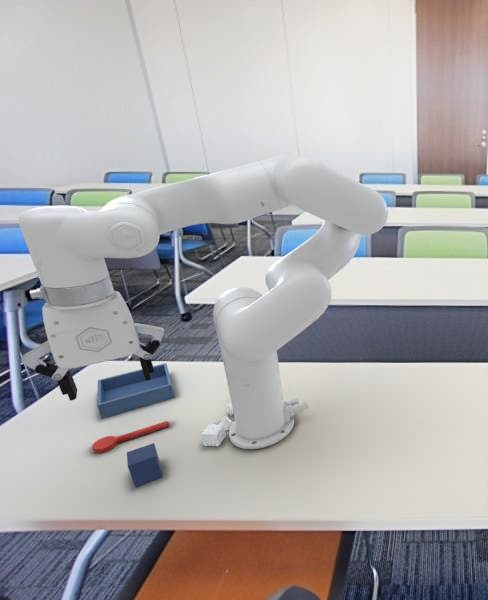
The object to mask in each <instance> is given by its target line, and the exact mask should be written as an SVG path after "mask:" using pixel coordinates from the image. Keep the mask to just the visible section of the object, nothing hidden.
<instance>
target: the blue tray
mask: <svg viewBox="0 0 488 600" xmlns="http://www.w3.org/2000/svg"><path fill="white" fill-rule="evenodd" d="M153 368H154V372H153V373H150V377H151V380H149V381H147V380H145V377H144V374H143V370H142V368H141V369H137V370H133V371H129V372H125V373H121V374H118V375H113V376H109V377H105V378H101V379H98V380H97V394H96V395H97V396H96V399H97V400H96V406H97V408H98V409H97V410H98V412H99V415H100V417H101V419H105V418H109V417H112V416H116V415H119V414H122V413H125V412H129V411H133V410H136V409H140V408H142V407H146V406H149V405H152V404H156V403H159V402H163V401H166V400H170V399H173V398H176V396H175V391H174V388H173V383H172V379H171V375H170V371H169V368H168V364H167V362H165V363H161V364H157V365H153Z"/></svg>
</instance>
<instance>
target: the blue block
mask: <svg viewBox="0 0 488 600" xmlns="http://www.w3.org/2000/svg"><path fill="white" fill-rule="evenodd" d="M126 461H127V468H128V472H129V474H130V477H131V480H132V482H133V485H134V488H138V487H140V486H143V485H145V484H148V483H150V482H153V481H156V480H158V479H161V478H163V477H164V476H163V470H162V465H161V464H162V463H161V460H160V457H159V454H158V450H157V448H156V445H155V442H153V443H150V444H147V445H144V446H141V447H138V448H134V449H131V450H129V451H127V452H126Z"/></svg>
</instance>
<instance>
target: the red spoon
mask: <svg viewBox="0 0 488 600" xmlns="http://www.w3.org/2000/svg"><path fill="white" fill-rule="evenodd" d="M169 426H170V422H169V421H163V422H159V423H157V424H153V425H150V426H147V427H144V428H141V429H137V430H134V431H131V432H128V433H125V434H122V435H119V436H113V435H109V436H104V437H101V438H99V439H97V440H96V441H95V442H94V443H93V444H92V446H91V447H92V450H93V452H94V453H95V454H101V453H103V454H104V453H107V452H109V451H111V450H113V449H114V448H116V446H117V444H120V443H123V442H125V441H128V440H129V441H130V440H131V439H135V438H138V437H140V436H144V435H146V434H150V433H152V432H156V431H159V430H162V429H165V428H168V427H169Z"/></svg>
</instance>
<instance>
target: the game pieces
mask: <svg viewBox="0 0 488 600" xmlns="http://www.w3.org/2000/svg"><path fill="white" fill-rule="evenodd" d="M224 407H225V410H226V413H228V414H229V416H230V417H231V416H233V415H234V413H233V408H232V403H231V400H228V403H227V404H226V405H224ZM233 422H234V421H232V420H231V419H230V418H229V417H228V416H227V415H223V416H222V417H221V419H220V422H219V423H217V424H216V423H209V424H207V425H206V427H205V429H203V431H202V432H201V434H200V437H201V439H202V445H203V446H205V447H208V446H209V447H211V446H212V447H220V446H221V443H223V441H224V440H225V439H226V437H227V433H226V431H229V428H230V426H231V424H232V423H233Z"/></svg>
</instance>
